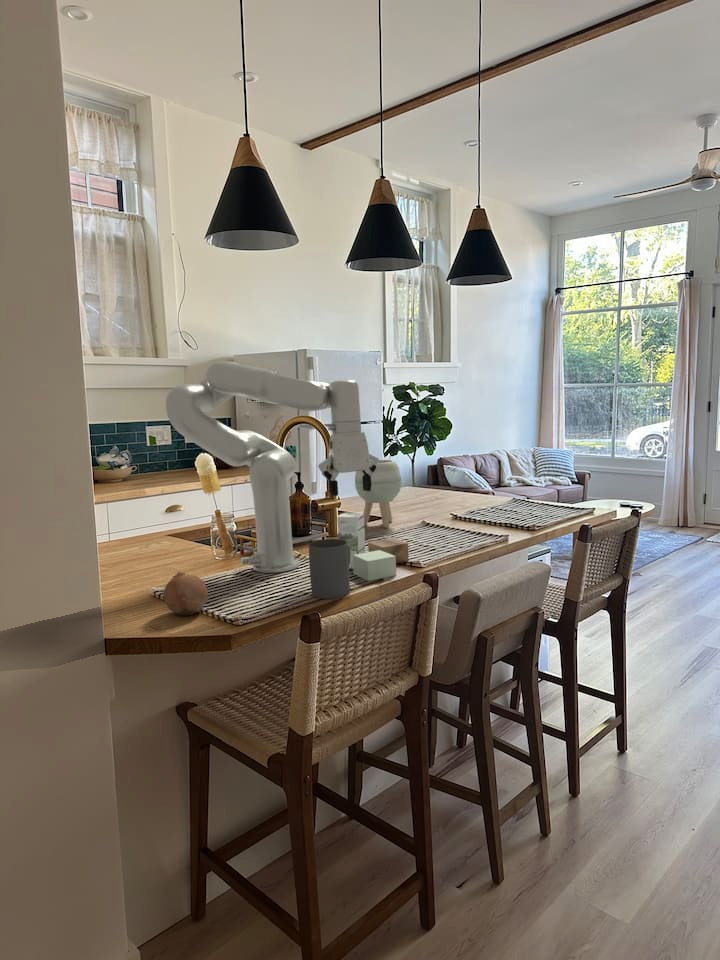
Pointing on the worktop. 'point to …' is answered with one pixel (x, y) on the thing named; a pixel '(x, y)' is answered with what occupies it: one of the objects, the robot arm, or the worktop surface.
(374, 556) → the sage block
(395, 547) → the walnut block
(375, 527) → the worktop surface
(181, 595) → the onion
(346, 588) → the mug
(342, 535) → the syrup box
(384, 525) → the planter
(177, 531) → the worktop surface
